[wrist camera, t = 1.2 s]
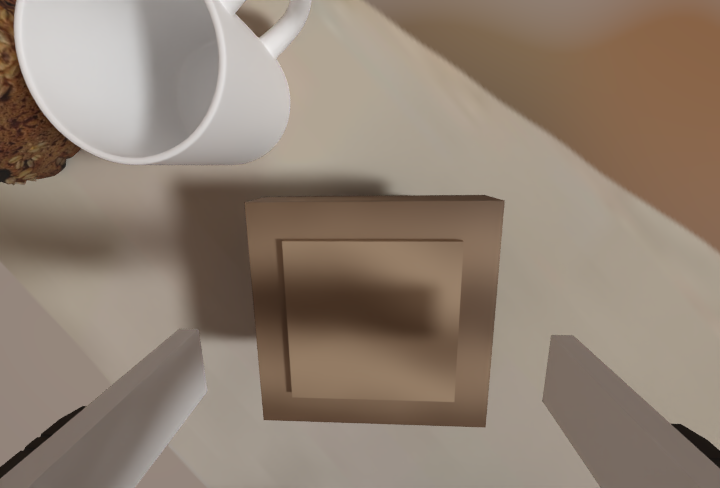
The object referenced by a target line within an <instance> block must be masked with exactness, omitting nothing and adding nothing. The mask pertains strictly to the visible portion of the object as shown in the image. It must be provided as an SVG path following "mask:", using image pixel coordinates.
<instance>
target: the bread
mask: <svg viewBox="0 0 720 488" xmlns="http://www.w3.org/2000/svg"><path fill="white" fill-rule="evenodd" d="M15 5H16V0H0V182H3V183H6V184H13V185H14V184H23V185H25V183H26V180H30V181H36V179H42V178H46V177H51V176H55V175H56V174H58V173H59V172H60V171H62V170H63V169H64V168H65V166H66V159H68V158H71V157H72V156H74V155H75V154H76V153H77V152H78V151H79V150H80V149H81V148H80V147H78V146H77V145H75V144H74V143H73V142H71V141H70V140H69V139H67V138H66V137H65V136H64V135H63V134H62V133H61V132H59V131H58V130H57V129H56V128H55V127H54V125H53V124H52V123H51V122H50V121H49V120H48V119H47V117H46V116H45V115H44V114H43V112H42V111H41V109H40V108H39V106H38V105H37V103H36V102H35V100H34V98H33V97H32V95H31V93H30V91H29V89H28V87H27V85H26V82H25V80H24V77H23V75H22V72H21V69H20V65H19V62H18V58H17V53H16V47H15V40H14V13H15Z"/></svg>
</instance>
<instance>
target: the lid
mask: <svg viewBox="0 0 720 488" xmlns="http://www.w3.org/2000/svg"><path fill="white" fill-rule="evenodd" d="M244 204H245V215H246V226H247V237H248V249H249V260H250V271H251V282H252V293H253V305H254V316H255V327H256V338H257V349H258V361H259V372H260V383H261V394H262V405H263V417H264V420H280V421H310V422H341V423H371V424H401V425H431V426H461V427H485V426H486V414H487V402H488V391H489V379H490V367H491V355H492V343H493V331H494V320H495V308H496V296H497V284H498V272H499V260H500V249H501V237H502V225H503V213H504V200H500V199H497V198H493V197H489V196H486V195H430V196H287V197H262V198H259V199H255V200H251V201H247V202H244Z"/></svg>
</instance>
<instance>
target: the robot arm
mask: <svg viewBox="0 0 720 488" xmlns="http://www.w3.org/2000/svg"><path fill="white" fill-rule="evenodd" d="M206 392H207V385H206V378H205V370H204V363H203V356H202V349H201V342H200V335H199V329H179V330H177V331H176V332H175V333H174V334H173V335H171V336H170V337H169V338H168V339H167V340H165V341H164V342H163V343H162V344H161V345H159V346H158V347H157V348H156V349H155V350H153V351H152V352H151V353H150V354H149V355H147V356H146V357H145V358H144V359H143V360H141V361H140V362H139V363H138V364H137V365H135V366H134V367H133V368H132V369H131V370H130V371H128V372H127V373H126V374H125V375H124V376H122V377H121V378H120V379H119V380H118V381H116V382H115V383H114V384H113V385H112V386H110V387H109V388H108V389H107V390H106V391H104V392H103V393H102V394H101V395H100V396H98V397H97V398H96V399H95V400H94V401H93V402H91V403H90V404H89V405H88V406H82V407H80V408H79V409H77V410H75V411H73V412H72V413H70V414H68V415H67V416H64V417H63V418H61V419H59V420H58V421H57V422H56V423H54V424H53V425H52V426H51V427H49V428H48V429H47V430H46V431H44V432H43V433H42V434H41V437H37V438H36V439H35V440H33V441H32V442H31V443H30V444H29V445H27V446H26V447H25V449H24V451H20V452H19V453H17V454H16V455H15V456H13V457H12V458H11V459H10V460H9V461H7V462H6V463H5V464H4V465H2V466H1V467H0V488H135V487H136V486H137V484H138V483H139V482H140V480H141V479H142V478H143V476H144V475H145V474H146V472H147V471H148V470H149V468H150V467H151V466H152V464H153V463H154V462H155V460H156V459H157V458H158V456H159V455H160V454H161V452H162V451H163V449H164V448H165V447H166V446H167V444H168V443H169V442H170V440H171V439H172V438H173V436H174V435H175V434H176V432H177V431H178V430H179V428H180V427H181V426H182V424H183V423H184V422H185V420H186V419H187V418H188V416H189V415H190V414H191V412H192V411H193V410H194V408H195V407H196V406H197V404H198V403H199V402H200V400H201V399H202V398H203V396H204V395H205V394H206ZM542 401H543V403H544V404H545V405H546V407H547V408H548V410H549V411H550V413H551V414H552V416H553V417H554V419H555V420H556V422H557V423H558V425H559V426H560V428H561V429H562V431H563V432H564V434H565V435H566V437H567V438H568V440H569V441H570V443H571V444H572V446H573V447H574V449H575V450H576V451H577V453H578V454H579V456H580V457H581V459H582V460H583V462H584V463H585V465H586V466H587V468H588V469H589V471H590V472H591V474H592V475H593V477H594V478H595V480H596V481H597V483H598V484H599V486H600V487H601V488H720V450H718V449H717V448H716V447H715V446H714V445H713V444H711V443H710V442H709V441H708V440H706V439H705V438H703V437H701V436H700V435H698V434H696V433H695V432H693V431H691V430H690V429H688V428H686V427H685V426H683V425H681V424H670V423H669V422H668V421H667V420H666V419H665V418H664V417H662V416H661V415H660V414H659V413H658V412H657V411H656V410H655V409H654V408H653V407H651V406H650V405H649V404H648V403H647V402H646V401H645V400H644V399H643V398H642V397H640V396H639V395H638V394H637V393H636V392H635V391H634V390H633V389H632V388H631V387H629V386H628V385H627V384H626V383H625V382H624V381H623V380H622V379H621V378H619V377H618V376H617V375H616V374H615V373H614V372H613V371H612V370H611V369H610V368H608V367H607V366H606V365H605V364H604V363H603V362H602V361H601V360H600V359H599V358H597V357H596V356H595V355H594V354H593V353H592V352H591V351H590V350H589V349H588V348H586V347H585V346H584V345H583V344H582V343H581V342H580V341H579V340H578V339H577V338H575V337H574V336H572V335H551V341H550V348H549V355H548V363H547V370H546V378H545V385H544V392H543V400H542Z"/></svg>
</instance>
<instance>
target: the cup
mask: <svg viewBox="0 0 720 488" xmlns="http://www.w3.org/2000/svg"><path fill="white" fill-rule="evenodd" d="M245 1H246V0H16V5H15V13H14V40H15V47H16V53H17V58H18V62H19V65H20V69H21V72H22V75H23V77H24V80H25V82H26V85H27V87H28V89H29V91H30V93H31V95H32V97H33V98H34V100H35V102H36V103H37V105H38V106H39V108H40V109H41V111H42V112H43V114H44V115H45V116H46V117H47V119H48V120H49V121H50V122H51V123H52V124H53V125H54V127H55V128H56V129H57V130H58V131H59V132H61V133H62V134H63V135H64V136H65V137H66V138H67V139H69V140H70V141H71V142H73V143H74V144H75V145H77V146H78V147H80V148H82V149H83V150H85V151H87V152H89V153H91V154H93V155H95V156H97V157H99V158H102V159H105V160H108V161H111V162H115V163H121V164H129V165H238V164H244V163H248V162H251V161H254V160H256V159H258V158H260V157H262V156H264V155H265V154H266V153H268V152H269V151H270V150H271V149H272V148H273V147H274V146H275V145H276V144H277V143H278V141H279V140H280V138H281V137H282V135H283V133H284V131H285V128H286V126H287V123H288V119H289V114H290V92H289V87H288V83H287V80H286V77H285V74H284V72H283V70H282V68H281V66H280V64H279V62H278V61H277V59H276V58H277V57H278V56H279V55H280V54H281V53H282V52H283V51H284V50H285V49H286V48H287V47H288V46H289V45H290V44H291V42H292V41H293V40H294V39H295V38H296V36H297V35H298V34H299V32H300V31H301V29H302V28H303V26H304V24H305V22H306V20H307V17H308V14H309V11H310V7H311V0H290V4H289V6H288V8H287V10H286V12H285V13H284V15H283V16H282V17H281V18H280V19H279V21H278V22H277V23H276V24H275V25H274V26H272V27H271V28H270V29H269V30H268V31H267V32H266V33H264V34H263V35H262V36H261V37H257V36H256V35H255V34H254V33H253V32H252V30H251V29H250V28H249V27H248V26H247V25H246V24H245V23H244V22H243V21H242V20H241V19H240V18H239V17H238V16H237V15H236V14H235V13H236V11H237V10H238V9H239V8H240V7H241V5H242V4H243V3H244V2H245Z"/></svg>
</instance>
